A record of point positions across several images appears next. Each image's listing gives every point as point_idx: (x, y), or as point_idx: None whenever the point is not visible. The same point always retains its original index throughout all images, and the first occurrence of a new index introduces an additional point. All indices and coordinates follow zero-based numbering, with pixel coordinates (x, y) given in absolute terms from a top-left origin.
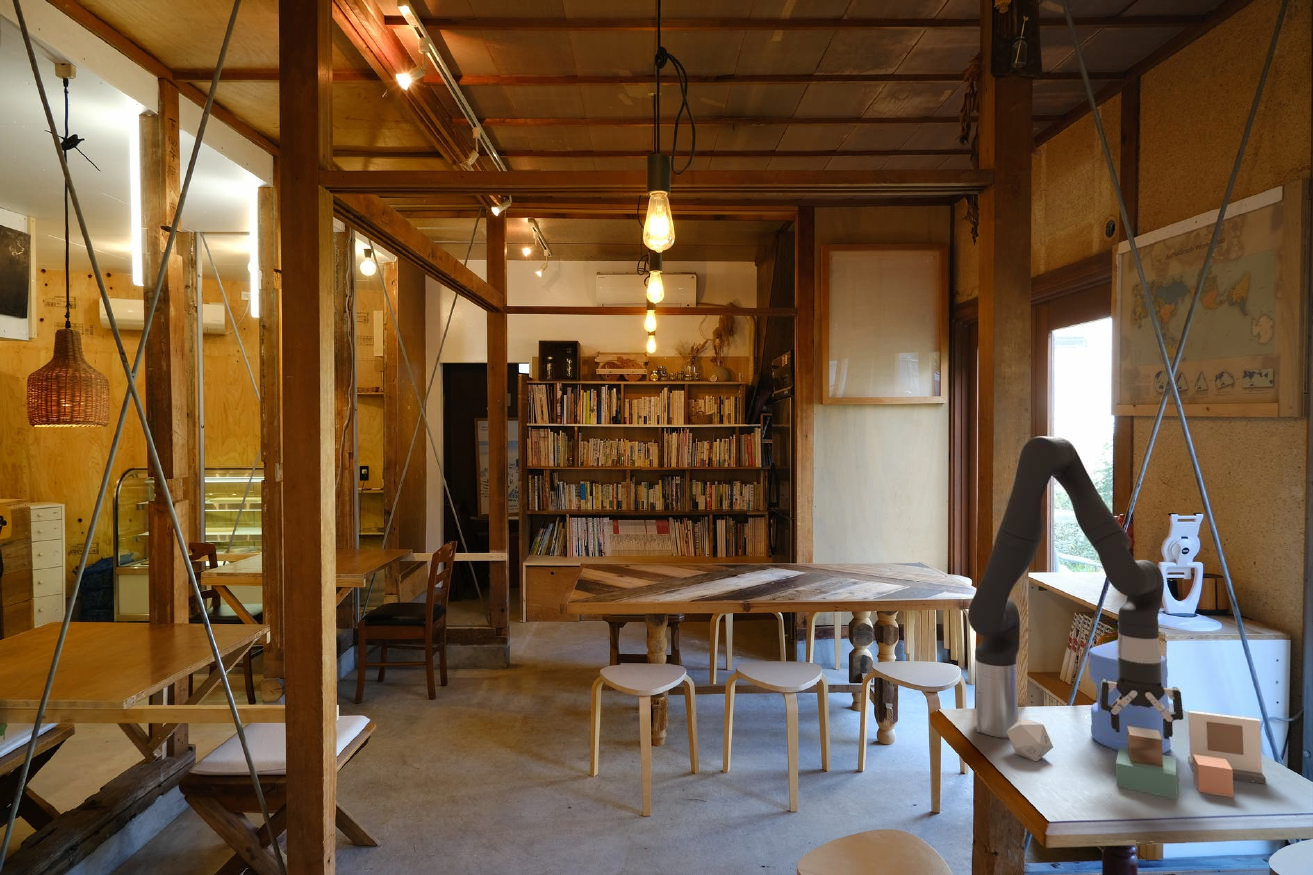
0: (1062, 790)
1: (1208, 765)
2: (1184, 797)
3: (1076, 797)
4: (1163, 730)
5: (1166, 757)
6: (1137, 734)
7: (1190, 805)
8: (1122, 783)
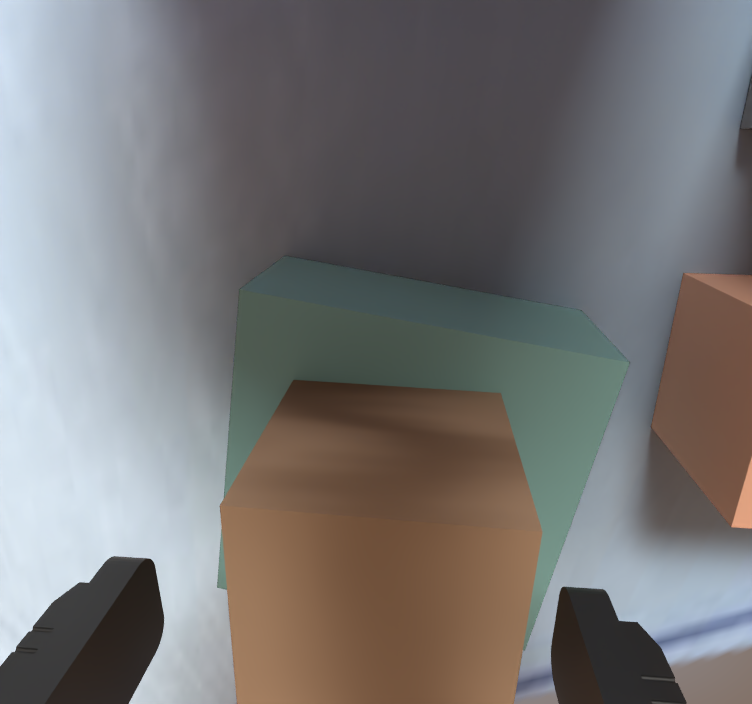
0: None
1: None
2: None
3: None
4: (577, 651)
5: (551, 383)
6: (305, 697)
7: (547, 591)
8: None
